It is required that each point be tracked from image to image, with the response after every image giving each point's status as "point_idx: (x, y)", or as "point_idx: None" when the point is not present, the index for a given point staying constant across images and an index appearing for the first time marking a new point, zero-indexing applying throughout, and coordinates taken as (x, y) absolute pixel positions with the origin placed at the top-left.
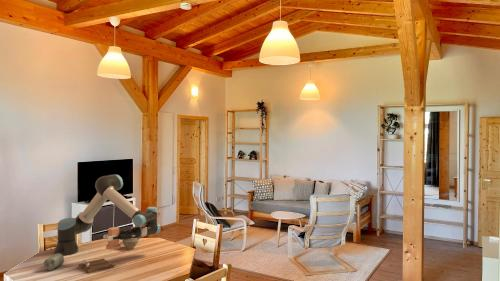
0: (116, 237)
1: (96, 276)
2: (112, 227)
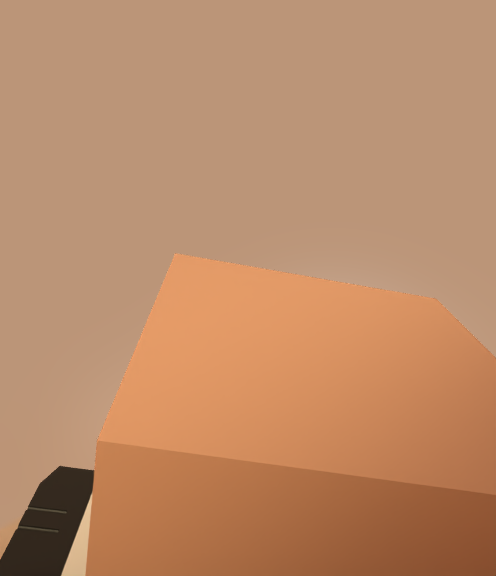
0: (12, 554)
1: (3, 527)
2: (492, 369)
